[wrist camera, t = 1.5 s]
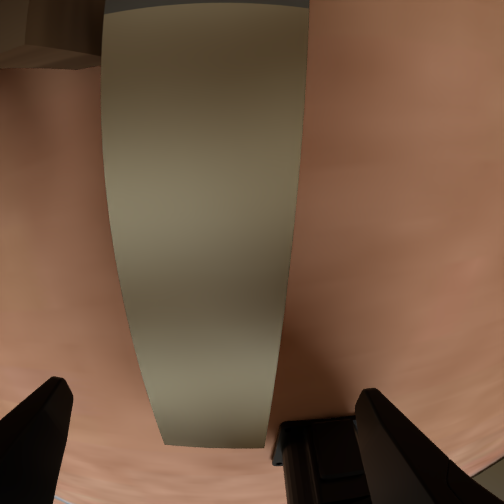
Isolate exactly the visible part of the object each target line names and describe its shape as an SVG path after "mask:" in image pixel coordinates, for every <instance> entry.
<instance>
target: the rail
mask: <svg viewBox="0 0 504 504" xmlns="http://www.w3.org/2000/svg"><path fill="white" fill-rule="evenodd" d="M308 28H309V0H106V1H105V10H104V22H103V35H102V55H101V126H102V146H103V161H104V174H105V184H106V194H107V203H108V212H109V219H110V227H111V234H112V241H113V247H114V253H115V259H116V265H117V271H118V276H119V281H120V286H121V291H122V296H123V301H124V306H125V310H126V315H127V319H128V324H129V328H130V332H131V336H132V340H133V344H134V348H135V352H136V356H137V359H138V363H139V367H140V370H141V374H142V377H143V381H144V384H145V387H146V391H147V394H148V397H149V400H150V403H151V407H152V410H153V413H154V416H155V419H156V422H157V424H158V427H159V430H160V433H161V436H162V439H163V441H164V444H165V445H175V446H188V447H204V448H264V446H265V440H266V434H267V428H268V422H269V416H270V409H271V403H272V396H273V390H274V383H275V376H276V369H277V362H278V355H279V348H280V340H281V333H282V325H283V318H284V310H285V302H286V293H287V285H288V277H289V268H290V259H291V250H292V241H293V231H294V222H295V212H296V201H297V191H298V180H299V168H300V156H301V144H302V131H303V117H304V102H305V87H306V70H307V50H308Z"/></svg>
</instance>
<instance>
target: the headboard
mask: <svg viewBox="0 0 504 504" xmlns="http://www.w3.org/2000/svg"><path fill="white" fill-rule="evenodd" d="M105 1H106V0H0V68H51V69H71V70H78V69H83V68H88V67H94V66H100V65H101V55H102V35H103V22H104V10H105Z"/></svg>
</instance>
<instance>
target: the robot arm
mask: <svg viewBox="0 0 504 504" xmlns="http://www.w3.org/2000/svg"><path fill="white" fill-rule="evenodd" d="M72 406H73V394H72V392H71V390H70V388H69V386H68V384H67V382H66V380H65V379H64V378H60V377H55V376H53V377H51V378H50V379H48V380H47V381H46V382H45V383H44V384H42V385H41V386H40V387H39V388H38V389H36V390H35V391H34V392H33V393H32V394H30V395H29V396H28V397H27V398H26V399H25V400H23V401H22V402H21V403H20V404H19V405H17V406H16V407H15V408H14V409H13V410H12V411H10V412H9V413H8V414H7V415H6V416H5V417H3V418H2V419H1V420H0V504H53V500H54V495H55V490H56V485H57V480H58V476H59V471H60V467H61V463H62V458H63V454H64V450H65V446H66V442H67V437H68V430H69V424H70V417H71V411H72ZM272 464H273V465H274V466H283V469H284V478H285V488H286V497H287V504H504V501H502V500H501V499H499V498H498V497H496V496H495V495H494V494H492V493H491V492H489V491H488V490H487V489H485V488H484V487H482V486H481V485H480V484H478V483H477V482H476V481H475V480H473V479H472V478H471V477H470V476H468V475H467V474H466V473H465V472H464V471H463V470H461V469H460V468H459V467H458V466H457V465H456V464H455V463H454V462H453V461H452V460H449V458H448V457H447V456H446V455H445V454H444V453H443V452H442V451H441V450H440V449H439V448H438V447H437V446H436V445H435V444H434V443H433V442H432V441H431V440H430V439H429V438H428V437H427V436H425V435H424V434H423V433H422V432H421V431H420V430H419V429H418V428H417V427H416V426H415V425H414V424H413V423H412V422H411V421H410V420H409V419H408V418H407V417H406V416H405V415H404V414H403V413H402V412H401V411H400V410H399V409H397V408H396V407H395V406H394V405H393V404H392V403H391V402H390V401H389V400H388V399H387V398H386V397H385V396H384V395H383V394H382V393H381V392H380V391H379V390H378V389H376V388H367V389H363V390H362V392H361V394H360V396H359V398H358V400H357V403H356V405H355V415H354V416H345V417H337V418H327V419H316V420H302V421H287V422H283V423H282V424H280V427H279V432H278V436H277V441H276V445H275V449H274V454H273V458H272Z"/></svg>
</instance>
